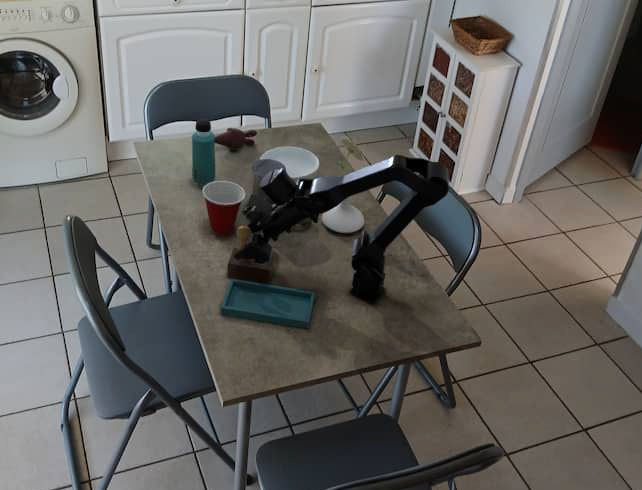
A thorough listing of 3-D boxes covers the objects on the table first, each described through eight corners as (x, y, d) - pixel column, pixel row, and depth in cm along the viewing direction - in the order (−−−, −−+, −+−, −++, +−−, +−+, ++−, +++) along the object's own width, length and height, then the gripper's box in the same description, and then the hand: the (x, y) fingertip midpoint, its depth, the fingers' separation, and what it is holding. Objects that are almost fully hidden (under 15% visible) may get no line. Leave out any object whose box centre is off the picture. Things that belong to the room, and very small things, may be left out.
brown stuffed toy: (213, 140, 216) (261, 138, 222) (207, 123, 220) (254, 120, 226) (209, 157, 221) (256, 154, 227) (203, 139, 225) (250, 137, 231)
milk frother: (245, 205, 202) (247, 159, 194) (301, 200, 207) (305, 155, 198) (256, 237, 191) (259, 190, 183) (315, 231, 196) (320, 185, 187)
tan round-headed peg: (249, 270, 181) (252, 225, 173) (248, 274, 180) (250, 229, 172) (236, 268, 181) (237, 223, 173) (234, 272, 180) (236, 227, 172)
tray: (314, 298, 175) (315, 292, 173) (308, 328, 166) (309, 322, 165) (230, 285, 176) (231, 278, 175) (220, 314, 168) (220, 307, 167)
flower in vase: (369, 234, 197) (383, 154, 182) (328, 239, 193) (339, 158, 179) (353, 206, 207) (364, 127, 192) (314, 210, 203) (322, 131, 189)
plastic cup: (251, 234, 192) (253, 197, 185) (213, 246, 187) (213, 207, 180) (232, 212, 199) (233, 175, 192) (195, 222, 194) (195, 184, 187)
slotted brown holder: (273, 268, 182) (274, 254, 180) (269, 284, 177) (270, 269, 175) (233, 261, 183) (233, 247, 180) (227, 277, 178) (227, 263, 175)
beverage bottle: (220, 182, 210) (221, 120, 198) (205, 193, 205) (205, 130, 194) (202, 174, 213) (201, 112, 201) (186, 184, 208) (185, 122, 196)
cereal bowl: (299, 161, 223) (300, 140, 219) (328, 189, 212) (330, 169, 208) (248, 173, 215) (249, 152, 211) (276, 204, 204) (277, 183, 200)
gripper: (272, 168, 173) (225, 199, 180) (256, 214, 158) (205, 246, 165) (303, 201, 177) (255, 230, 184) (290, 249, 162) (239, 279, 169)
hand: (239, 245), depth 176 cm, fingers open, 9 cm apart
